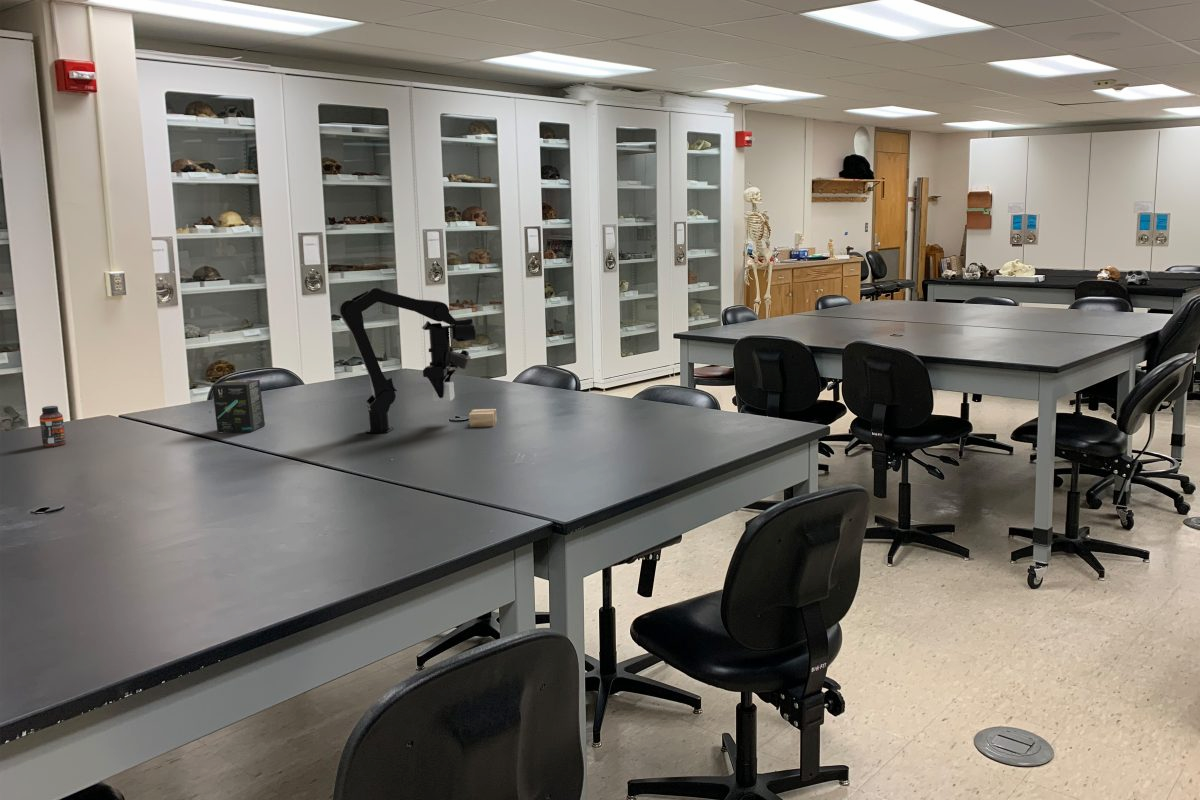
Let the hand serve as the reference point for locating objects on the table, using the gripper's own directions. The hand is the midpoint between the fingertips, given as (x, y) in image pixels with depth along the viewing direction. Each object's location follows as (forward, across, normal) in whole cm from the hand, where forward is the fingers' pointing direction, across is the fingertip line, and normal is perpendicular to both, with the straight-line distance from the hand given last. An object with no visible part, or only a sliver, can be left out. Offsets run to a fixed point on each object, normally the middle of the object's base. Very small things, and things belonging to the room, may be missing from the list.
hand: (443, 396), depth 288 cm
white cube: (+1, 0, 0) cm, 1 cm away
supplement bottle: (+8, -22, +110) cm, 113 cm away
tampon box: (+8, -4, +62) cm, 63 cm away
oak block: (+9, -1, -12) cm, 15 cm away
